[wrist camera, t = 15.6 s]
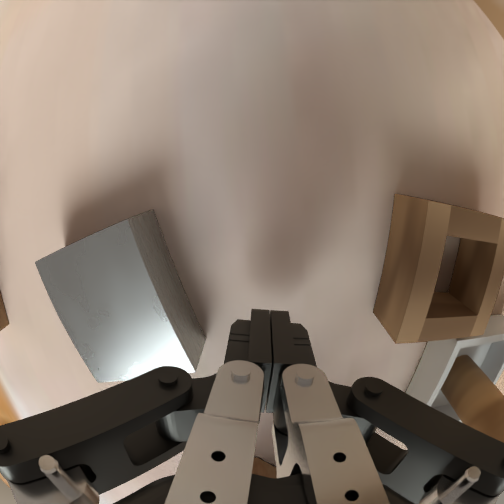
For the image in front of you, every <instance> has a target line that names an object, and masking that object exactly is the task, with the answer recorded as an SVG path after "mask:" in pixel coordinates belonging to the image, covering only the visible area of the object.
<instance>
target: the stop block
mask: <svg viewBox="0 0 504 504" xmlns="http://www.w3.org/2000/svg"><path fill="white" fill-rule="evenodd" d="M8 324H9V322H8V318H7V315H6V311H5V308H4V304H3V300H2V296H1V292H0V331H1V330H2V329H3V328H5V327H6V326H7V325H8Z"/></svg>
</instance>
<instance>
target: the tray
mask: <svg viewBox="0 0 504 504" xmlns="http://www.w3.org/2000/svg"><path fill="white" fill-rule="evenodd" d="M461 355H468V356H469V357H470V358H471V359H472V360H473V361H474V362H475V363H476V364H477V365H478V366H479V368H480V369H481V370H482V371H483V372H484V373H485V374H486V375H487V377H488V378H489V379H490V380H491V381H492V382H493V384H494V385H495V384H496V382H497V380H498V379H499V377H500V375H501V373H502V371H503V369H504V316H503V315H502V314H500V315H491V316H490V319H489V321H488V324H487V327H486V329H485V332H484V334H483V335H479V336H472V337H465V338H456V339H447V340H438V341H428V342H427V345H426V348H425V350H424V353H423V355H422V357H421V360H420V362H419V365H418V367H417V369H416V371H415V374H414V376H413V378H412V380H411V382H410V384H409V386H408V388H407V390H406V394H408V395H410V396H412V397H414V398H416V399H417V400H419V401H421V402H423V403H425V404H427V405H429V406H431V407H432V408H434V409H436V410H438V411H440V412H442V413H444V414H446V415H448V416H450V417H452V418H454V419H456V420H458V421H460V422H462V421H461V420H460V418H459V417H458V415H457V414H456V412H455V411H454V409H453V407H452V406H451V404H450V403H449V401H448V400H447V398H446V397H445V395H444V394H443V393H442V391H441V390H440V389H441V387H442V385H443V384H444V382H445V380H446V378H447V376H448V374H449V372H450V370H451V368H452V366H453V363H454V361H455V359H456V358H457V357H459V356H461Z"/></svg>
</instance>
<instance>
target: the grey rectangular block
mask: <svg viewBox="0 0 504 504" xmlns="http://www.w3.org/2000/svg"><path fill="white" fill-rule="evenodd" d="M35 264H36V266H37V269H38V271H39V274H40V276H41V279H42V281H43V283H44V286H45V288H46V290H47V293H48V295H49V297H50V299H51V301H52V303H53V306H54V308H55V310H56V312H57V314H58V316H59V318H60V320H61V322H62V324H63V325H64V327H65V329H66V331H67V333H68V335H69V337H70V338H71V340H72V342H73V344H74V345H75V347H76V349H77V351H78V352H79V354H80V356H81V357H82V359H83V360H84V362H85V364H86V365H87V367H88V368H89V370H90V371H91V373H92V375H93V376H94V378H95V379H96V381H97V382H114V381H127V380H130V379H132V378H134V377H137V376H139V375H141V374H144V373H146V372H148V371H151V370H153V369H155V368H158V367H162V366H175V367H179V368H182V369H184V370H185V371H187V372H188V373H193V372H196V369H197V366H198V363H199V359H200V356H201V353H202V350H203V347H204V344H205V341H206V338H205V336H204V334H203V332H202V330H201V327H200V325H199V323H198V321H197V318H196V316H195V314H194V312H193V309H192V307H191V305H190V302H189V300H188V298H187V295H186V293H185V291H184V288H183V286H182V283H181V281H180V279H179V276H178V274H177V271H176V269H175V266H174V264H173V261H172V259H171V256H170V253H169V251H168V248H167V246H166V243H165V240H164V238H163V235H162V232H161V229H160V227H159V224H158V221H157V218H156V215H155V213H154V210H150V211H148V212H145V213H142V214H139V215H137V216H134V217H131V218H129V219H126V220H124V221H122V222H119V223H117V224H115V225H112V226H110V227H108V228H105V229H103V230H101V231H99V232H96V233H94V234H92V235H90V236H87V237H85V238H83V239H81V240H79V241H77V242H75V243H72V244H70V245H68V246H66V247H64V248H62V249H60V250H58V251H56V252H54V253H52V254H50V255H48V256H46V257H44V258H42V259H40V260H38V261H36V262H35Z"/></svg>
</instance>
